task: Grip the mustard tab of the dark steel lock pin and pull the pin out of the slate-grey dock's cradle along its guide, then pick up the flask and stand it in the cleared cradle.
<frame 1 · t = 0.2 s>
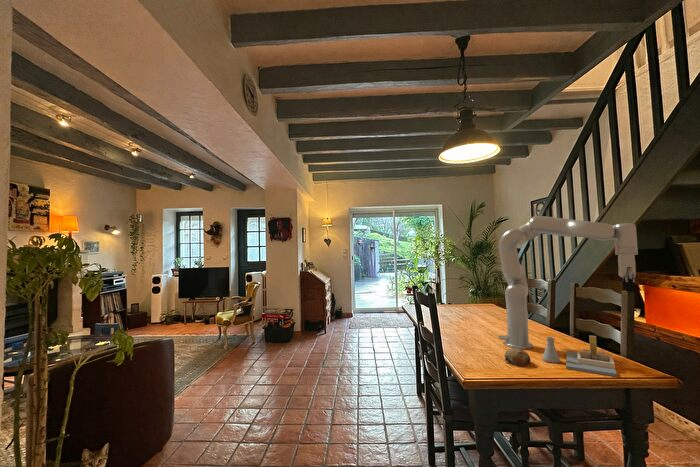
hand: (629, 290, 138), 30 cm above the table, tool pointing down, fingers open, 9 cm apart
flask: (551, 361, 140), on the table
lock pin: (593, 348, 138), point 6 cm above the table, slide at 0.0 cm
bread roll: (517, 363, 138), on the table
dock board: (589, 363, 135), on the table
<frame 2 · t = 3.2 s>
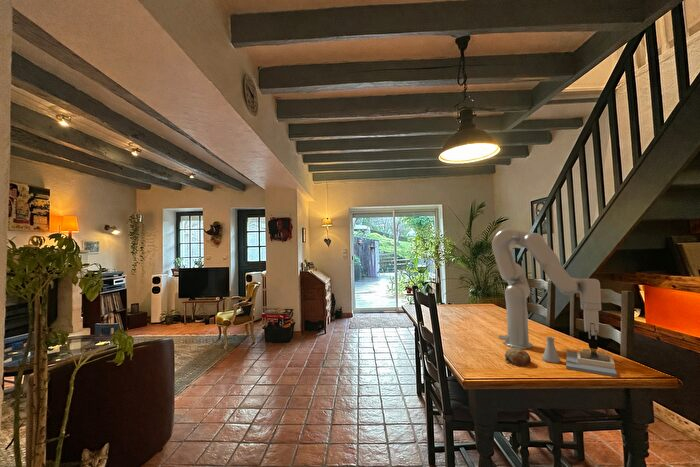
hand: (593, 347, 143), 5 cm above the table, tool pointing down, fingers closed on lock pin, 2 cm apart
lock pin: (593, 348, 138), point 5 cm above the table, slide at 0.0 cm, touching gripper
everything else where it was.
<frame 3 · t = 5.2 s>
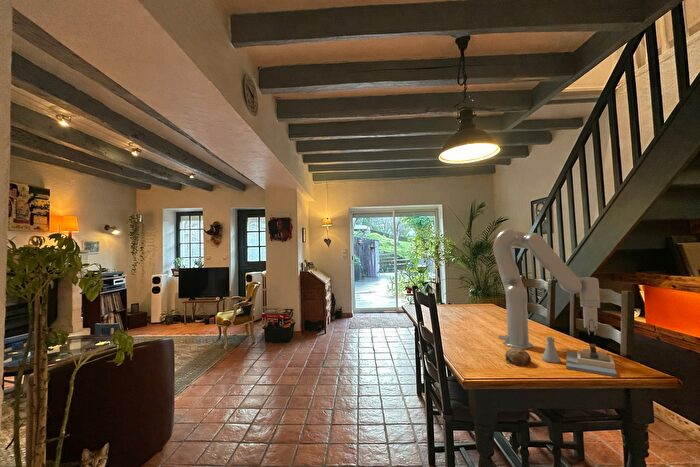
hand: (592, 342, 150), 5 cm above the table, tool pointing down, fingers closed on lock pin, 2 cm apart
lock pin: (592, 343, 145), point 6 cm above the table, slide at 8.5 cm, touching gripper
everything else where it was.
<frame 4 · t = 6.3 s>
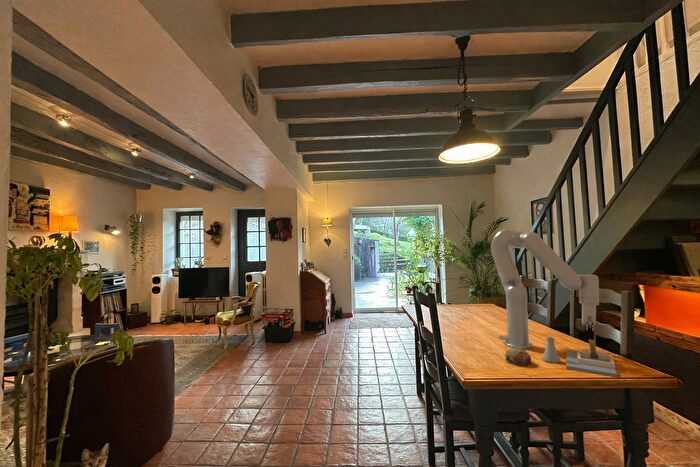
hand: (589, 337, 150), 7 cm above the table, tool pointing down, fingers open, 9 cm apart
lock pin: (592, 343, 145), point 6 cm above the table, slide at 8.5 cm
everything else where it was.
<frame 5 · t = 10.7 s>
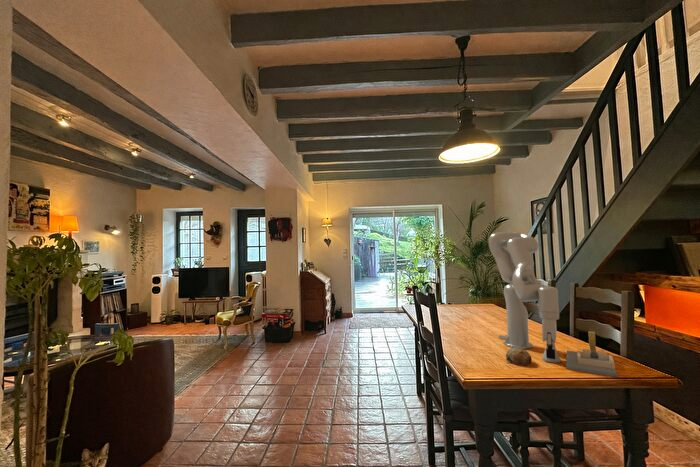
hand: (551, 356, 140), 2 cm above the table, tool pointing down, fingers closed on flask, 4 cm apart
flask: (551, 361, 140), on the table, touching gripper
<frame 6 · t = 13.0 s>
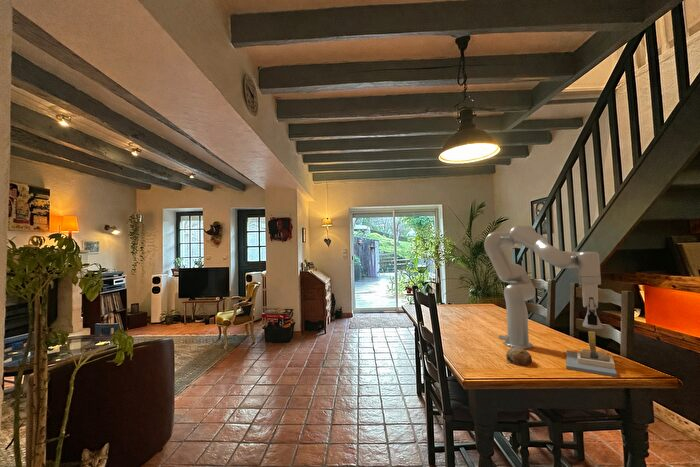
hand: (592, 322, 135), 17 cm above the table, tool pointing down, fingers closed on flask, 4 cm apart
flask: (592, 328, 135), point 15 cm above the table, touching gripper
when the fingers open (5 cm above the table, at t = 15.7 s): flask drops 2 cm, resting on dock board.
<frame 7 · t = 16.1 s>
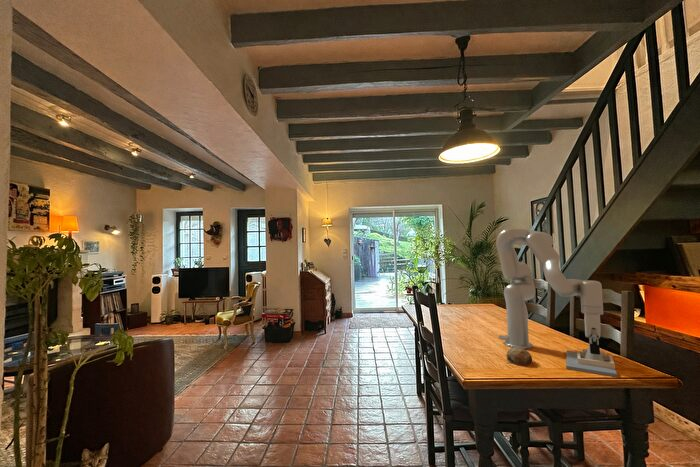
hand: (594, 350, 134), 6 cm above the table, tool pointing down, fingers open, 9 cm apart
flask: (594, 362, 134), point 1 cm above the table, touching dock board
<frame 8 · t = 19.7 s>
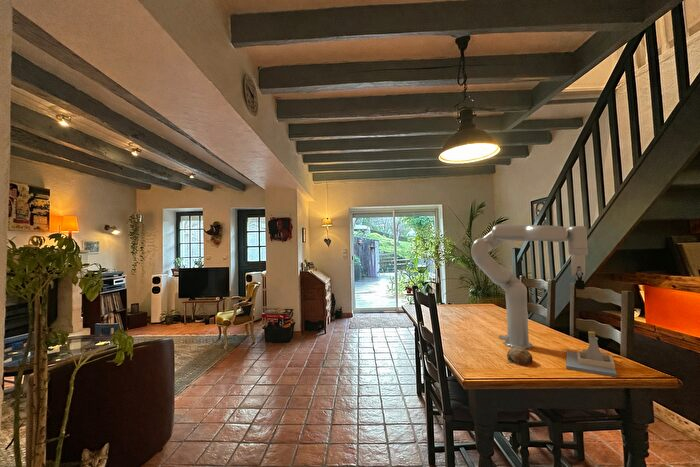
hand: (580, 288, 150), 30 cm above the table, tool pointing down, fingers open, 9 cm apart
at the end: lock pin slide at 8.5 cm; flask inside the target area (0.1 cm from its centre), point 1.0 cm above the table; flask tilted 0° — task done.
